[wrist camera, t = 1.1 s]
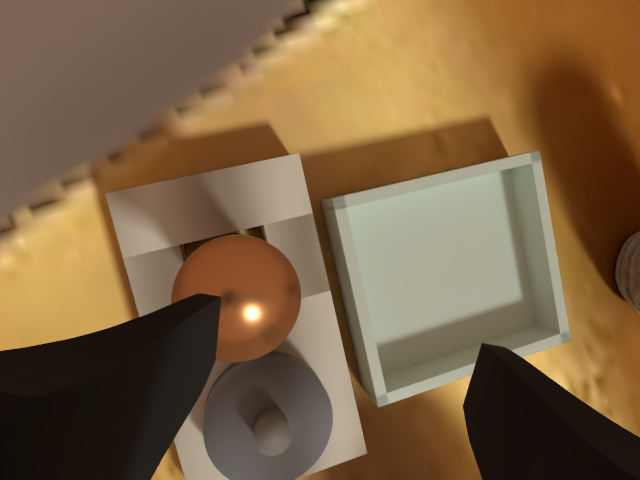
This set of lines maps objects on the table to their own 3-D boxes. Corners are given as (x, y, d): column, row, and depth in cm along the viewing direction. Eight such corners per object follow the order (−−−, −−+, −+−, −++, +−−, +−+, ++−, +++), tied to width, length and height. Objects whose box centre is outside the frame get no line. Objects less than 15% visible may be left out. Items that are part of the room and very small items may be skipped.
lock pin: (199, 321, 22) (189, 378, 15) (177, 239, 22) (155, 253, 14) (281, 298, 23) (313, 341, 16) (262, 219, 23) (285, 222, 15)
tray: (362, 388, 25) (378, 407, 22) (320, 200, 23) (332, 198, 21) (539, 329, 27) (570, 340, 25) (509, 156, 26) (539, 150, 24)
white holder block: (197, 491, 23) (192, 560, 18) (115, 194, 21) (86, 189, 17) (355, 434, 25) (386, 484, 20) (292, 158, 23) (310, 144, 18)
